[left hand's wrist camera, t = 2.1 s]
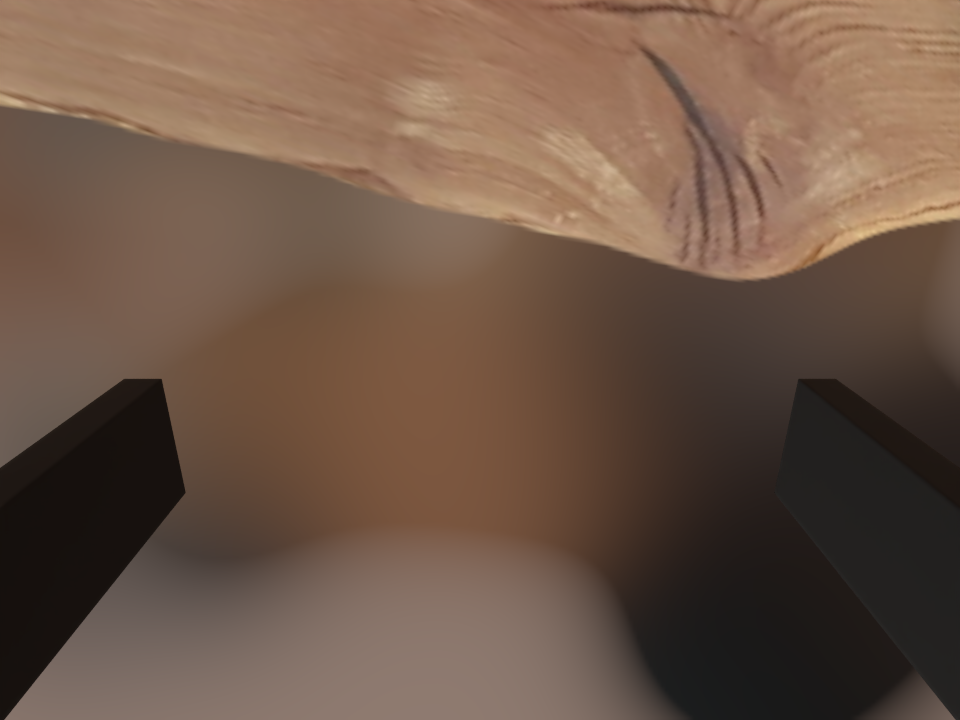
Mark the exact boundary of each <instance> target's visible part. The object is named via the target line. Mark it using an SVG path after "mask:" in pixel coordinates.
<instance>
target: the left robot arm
mask: <svg viewBox="0 0 960 720" xmlns="http://www.w3.org/2000/svg"><path fill="white" fill-rule="evenodd" d="M184 494H185V488H184V483H183V478H182V473H181V469H180V464H179V459H178V455H177V450H176V445H175V440H174V436H173V431H172V426H171V421H170V417H169V412H168V407H167V403H166V398H165V393H164V388H163V384H162V379H124V380H122V381H121V382H119V383H118V384H117V385H115V386H114V387H112V388H111V389H110V390H108V391H107V392H105V393H104V394H103V395H101V396H100V397H98V398H97V399H96V400H94V401H93V402H92V403H90V404H89V405H87V406H86V407H85V408H83V409H82V410H80V411H79V412H78V413H76V414H75V415H73V416H72V417H71V418H69V419H68V420H66V421H65V422H64V423H62V424H61V425H59V426H58V427H57V428H55V429H54V430H52V431H51V432H50V433H48V434H47V435H46V436H44V437H43V438H41V439H40V440H39V441H37V442H36V443H34V444H33V445H32V446H30V447H29V448H27V449H26V450H25V451H23V452H22V453H20V454H19V455H18V456H16V457H15V458H13V459H12V460H11V461H9V462H8V463H7V464H5V465H4V466H2V467H1V468H0V720H4V719H5V718H6V717H7V716H8V714H9V713H10V712H11V711H12V709H13V708H14V707H15V706H16V704H17V703H18V702H19V701H20V699H21V698H22V697H23V696H24V694H25V693H26V692H27V691H28V689H29V688H30V687H31V686H32V684H33V683H34V682H35V680H36V679H37V678H38V677H39V676H40V674H41V673H42V672H43V671H44V669H45V668H46V667H47V666H48V664H49V663H50V662H51V661H52V659H53V658H54V657H55V656H56V654H57V653H58V652H59V650H60V649H61V648H62V647H63V645H64V644H65V643H66V642H67V640H68V639H69V638H70V637H71V635H72V634H73V633H74V632H75V630H76V629H77V628H78V627H79V625H80V624H81V623H82V622H83V620H84V619H85V618H86V617H87V615H88V614H89V613H90V612H91V610H92V609H93V608H94V607H95V605H96V604H97V603H98V602H99V600H100V599H101V598H102V597H103V595H104V594H105V593H106V592H107V590H108V589H109V588H110V587H111V585H112V584H113V583H114V582H115V580H116V579H117V578H118V577H119V575H120V574H121V573H122V572H123V570H124V569H125V568H126V567H127V565H128V564H129V563H130V562H131V560H132V559H133V558H134V557H135V555H136V554H137V553H138V552H139V550H140V549H141V548H142V547H143V545H144V544H145V543H146V542H147V540H148V539H149V538H150V536H151V535H152V534H153V533H154V532H155V530H156V529H157V528H158V527H159V525H160V524H161V523H162V521H163V520H164V519H165V518H166V516H167V515H168V514H169V513H170V511H171V510H172V509H173V508H174V506H175V505H176V504H177V503H178V501H179V500H180V499H181V498H182V496H183V495H184ZM775 494H776V495H777V496H778V498H779V499H780V500H781V501H782V503H783V504H784V505H785V506H786V508H787V509H788V510H789V511H790V513H791V514H792V515H793V516H794V518H795V519H796V520H797V522H798V523H799V524H800V525H801V526H802V528H803V529H804V530H805V532H806V533H807V534H808V535H809V537H810V538H811V539H812V540H813V541H814V543H815V544H816V545H817V547H818V548H819V549H820V550H821V552H822V553H823V554H824V555H825V557H826V558H827V559H828V560H829V562H830V563H831V564H832V565H833V567H834V568H835V569H836V570H837V572H838V573H839V574H840V575H841V577H842V578H843V579H844V580H845V582H846V583H847V584H848V585H849V587H850V588H851V589H852V590H853V592H854V593H855V594H856V595H857V597H858V598H859V599H860V600H861V602H862V603H863V604H864V605H865V607H866V608H867V609H868V610H869V612H870V613H871V614H872V615H873V617H874V618H875V619H876V620H877V622H878V623H879V624H880V625H881V627H882V628H883V629H884V630H885V632H886V633H887V634H888V635H889V637H890V638H891V639H892V640H893V642H894V643H895V644H896V646H897V647H898V648H899V649H900V650H901V652H902V653H903V654H904V656H905V657H906V658H907V659H908V661H909V662H910V663H911V664H912V666H913V667H914V668H915V669H916V671H917V672H918V673H919V674H920V676H921V677H922V678H923V679H924V681H925V682H926V683H927V684H928V686H929V687H930V688H931V689H932V691H933V692H934V693H935V694H936V695H937V697H938V698H939V699H940V701H941V702H942V703H943V704H944V706H945V707H946V708H947V709H948V711H949V712H950V713H951V714H952V716H953V717H954V718H955V719H956V720H960V468H959V467H958V466H956V465H955V464H954V463H952V462H951V461H949V460H948V459H947V458H945V457H944V456H942V455H941V454H940V453H938V452H937V451H935V450H934V449H933V448H931V447H930V446H928V445H927V444H926V443H924V442H923V441H921V440H920V439H919V438H917V437H916V436H914V435H913V434H912V433H910V432H909V431H908V430H906V429H905V428H903V427H902V426H901V425H899V424H898V423H896V422H895V421H893V420H892V419H891V418H889V417H888V416H886V415H885V414H884V413H882V412H881V411H880V410H878V409H877V408H875V407H874V406H873V405H871V404H870V403H868V402H867V401H866V400H864V399H863V398H862V397H860V396H859V395H857V394H856V393H855V392H853V391H852V390H850V389H849V388H848V387H846V386H845V385H843V384H842V383H841V382H839V381H838V380H836V379H798V384H797V388H796V393H795V398H794V402H793V407H792V412H791V417H790V421H789V426H788V431H787V436H786V440H785V445H784V450H783V454H782V459H781V464H780V469H779V473H778V478H777V483H776V488H775Z"/></svg>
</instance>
